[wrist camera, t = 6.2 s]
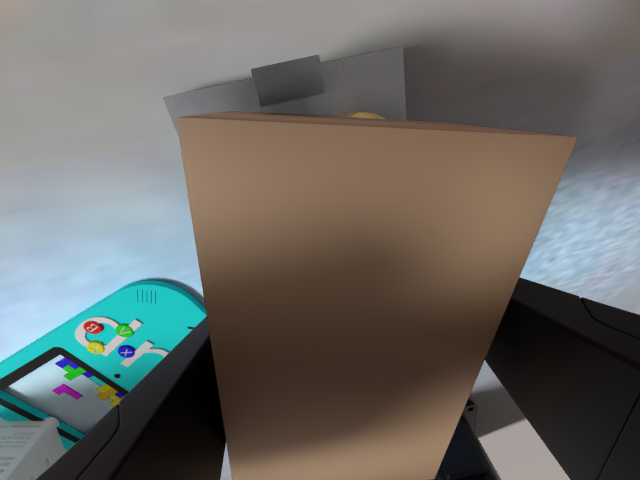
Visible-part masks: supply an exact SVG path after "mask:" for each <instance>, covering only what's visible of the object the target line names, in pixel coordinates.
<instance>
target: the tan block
mask: <svg viewBox="0 0 640 480" xmlns="http://www.w3.org/2000/svg"><path fill="white" fill-rule="evenodd" d="M176 120H177V126H178V133H179V139H180V146H181V152H182V159H183V165H184V172H185V178H186V185H187V191H188V197H189V204H190V210H191V217H192V223H193V230H194V236H195V243H196V249H197V256H198V262H199V268H200V275H201V281H202V288H203V294H204V301H205V307H206V314H207V320H208V327H209V333H210V340H211V346H212V352H213V359H214V365H215V372H216V378H217V385H218V391H219V398H220V404H221V411H222V417H223V423H224V430H225V436H226V443H227V449H228V456H229V462H230V469H231V475H232V480H431V479H435V476H436V474H437V471H438V469H439V467H440V464H441V462H442V460H443V457H444V455H445V452H446V450H447V448H448V445H449V443H450V441H451V438H452V436H453V433H454V431H455V429H456V426H457V424H458V422H459V419H460V417H461V414H462V412H463V410H464V407H465V405H466V403H467V400H468V398H469V395H470V393H471V391H472V388H473V386H474V383H475V381H476V379H477V376H478V374H479V372H480V369H481V367H482V364H483V362H484V360H485V357H486V355H487V353H488V350H489V348H490V345H491V343H492V341H493V338H494V336H495V334H496V331H497V329H498V326H499V324H500V322H501V319H502V317H503V314H504V312H505V310H506V307H507V305H508V303H509V300H510V298H511V295H512V293H513V291H514V288H515V286H516V284H517V281H518V279H519V276H520V274H521V272H522V269H523V267H524V265H525V262H526V260H527V257H528V255H529V253H530V250H531V248H532V246H533V243H534V241H535V238H536V236H537V234H538V231H539V229H540V226H541V224H542V222H543V219H544V217H545V215H546V212H547V210H548V207H549V205H550V203H551V200H552V198H553V196H554V193H555V191H556V188H557V186H558V184H559V181H560V179H561V177H562V174H563V172H564V169H565V167H566V165H567V162H568V160H569V158H570V155H571V153H572V150H573V148H574V146H575V143H576V141H577V138H578V137H573V136H564V135H555V134H546V133H537V132H529V131H520V130H511V129H502V128H493V127H485V126H476V125H467V124H458V123H449V122H432V121H413V120H394V119H375V118H356V117H337V116H318V115H299V114H280V113H261V112H242V111H226V112H217V113H209V114H200V115H191V116H183V117H176Z"/></svg>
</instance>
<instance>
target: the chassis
mask: <svg viewBox="0 0 640 480" xmlns="http://www.w3.org/2000/svg"><path fill="white" fill-rule="evenodd" d="M251 72H252V76H253V78H250V79H246V80H241V81H236V82H232V83H227V84H222V85H218V86H213V87H209V88H204V89H199V90H195V91H190V92H185V93H181V94H176V95H171V96H167V97H163V99H164V101H165V104H166V106H167V109H168V111H169V114H170V116H171V119H172V121H173V124H174V126H175V129H176V131H177V134H178V136H179V133H178V126H177V120H176V117H183V116H191V115H200V114H209V113H217V112H226V111H242V112H261V113H280V114H299V115H318V116H337V117H356V118H375V119H394V120H407V117H406V96H405V75H404V54H403V46H400V47H395V48H390V49H386V50H381V51H376V52H372V53H367V54H362V55H358V56H353V57H348V58H344V59H339V60H334V61H330V62H325V63H320V58H319V55H315V56H310V57H305V58H301V59H296V60H291V61H287V62H282V63H277V64H273V65H268V66H263V67H259V68H254V69H251Z"/></svg>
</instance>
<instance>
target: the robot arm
mask: <svg viewBox="0 0 640 480" xmlns="http://www.w3.org/2000/svg"><path fill="white" fill-rule="evenodd" d="M485 361H486V362H487V364H488V365H489V367H490V368H491V369H492V371H493V372H494V374H495V375H496V376H497V378H498V379H499V381H500V382H501V383H502V385H503V386H504V388H505V389H506V390H507V392H508V393H509V394H510V396H511V397H512V399H513V400H514V401H515V403H516V404H517V406H518V407H519V408H520V410H521V411H522V413H523V414H524V415H525V417H526V418H527V420H528V421H529V422H530V424H531V425H532V427H533V428H534V429H535V431H536V432H537V434H538V435H539V436H540V438H541V439H542V440H543V442H544V443H545V445H546V446H547V448H548V449H549V450H550V452H551V453H552V454H553V456H554V457H555V458H556V460H557V461H558V463H559V464H560V466H561V467H562V468H563V470H564V471H565V473H566V474H567V475H568V477H569V478H570V480H640V315H638V314H635V313H631V312H628V311H625V310H621V309H618V308H615V307H612V306H608V305H605V304H602V303H598V302H595V301H592V300H589V299H586V298H580V297H579V296H576V295H573V294H570V293H567V292H564V291H561V290H558V289H554V288H551V287H548V286H545V285H542V284H539V283H536V282H532V281H529V280H526V279H523V278H520V277H519V279H518V281H517V284H516V286H515V288H514V291H513V293H512V295H511V298H510V300H509V303H508V305H507V307H506V310H505V312H504V314H503V317H502V319H501V322H500V324H499V326H498V329H497V331H496V334H495V336H494V338H493V341H492V343H491V345H490V348H489V350H488V353H487V355H486V357H485ZM476 412H477V406H476V405H475V403H474V402H473V401H471V400H469V401H467V403H466V405H465V407H464V410H463V412H462V414H461V417H460V419H459V422H458V424H457V426H456V429H455V431H454V433H453V436H452V438H451V441H450V443H449V445H448V448H447V450H446V452H445V455H444V457H443V460H442V462H441V464H440V467H439V469H438V471H437V474H436V476H435V479H431V480H501V478H500V476H499V475H498V473H497V471H496V470H495V468H494V466H493V464H492V462H491V461H490V459H489V457H488V456H487V454H486V452H485V450H484V448H483V447H482V445H481V443H480V441H479V440H478V438H477V436H476V434H475V433H474V432H475V422H476ZM225 444H226V436H225V430H224V423H223V417H222V411H221V404H220V398H219V391H218V385H217V378H216V372H215V365H214V359H213V352H212V346H211V340H210V333H209V327H208V320H207V316H206V317H205V318H204V319H203V320H202V321H201V322H200V323H199V324H198V325H197V326H196V327H195V328H194V329H193V330H192V331H191V332H190V333H189V334H188V335H187V336H186V337H185V338H184V339H183V340H182V341H181V342H179V343H178V344H177V345H176V346H175V347H174V348H173V349H172V350H171V351H170V352H169V353H168V354H167V355H166V356H165V357H164V358H163V359H162V360H161V361H160V362H159V363H158V364H157V365H156V366H155V367H154V368H153V369H152V370H151V371H150V372H149V373H148V374H147V375H146V376H145V377H144V378H143V379H142V380H141V381H140V382H139V383H138V384H137V385H136V386H135V387H134V388H133V389H132V390H131V391H130V392H128V393H127V394H126V395H125V396H124V397H123V398H122V399H121V400H120V401H119V404H116V405H115V406H114V407H113V408H112V409H111V410H110V411H109V412H108V413H107V414H106V415H105V416H104V417H103V418H102V419H101V420H100V421H99V422H98V423H97V424H96V425H95V426H94V427H92V428H91V429H90V430H89V431H88V432H87V433H86V434H85V435H84V436H83V437H82V438H81V439H80V440H79V441H78V442H77V443H76V444H74V445H73V446H72V447H71V448H70V449H69V450H68V451H67V452H66V453H64V454H63V455H62V456H61V457H60V458H59V459H58V460H57V461H56V462H55V463H53V464H52V465H51V466H50V467H49V468H48V469H47V470H46V471H44V472H43V473H42V474H41V475H40V476H39V477H38V478H37V479H35V480H220V477H221V470H222V464H223V457H224V451H225Z"/></svg>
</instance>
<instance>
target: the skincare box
mask: <svg viewBox="0 0 640 480" xmlns="http://www.w3.org/2000/svg"><path fill="white" fill-rule="evenodd" d="M43 420H45V421H7V420H5V419H3V418H1V417H0V480H35V479H37V478H38V477H39V476H40V475H41V474H42V473H43V472H44V471H46V470H47V469H48V468H49V467H50V466H51V465H52V464H53V463H55V462H56V461H57V460H58V459H59V458H60V457H61V456H62V455H63V454H64V453H66V452H67V449H64V446H63V444H62V441H61V438H60V436H59V434H58V430H57V427H59V425H60V424H59V421H58V419H56V418H54V417H46V418H45V419H43Z"/></svg>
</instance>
